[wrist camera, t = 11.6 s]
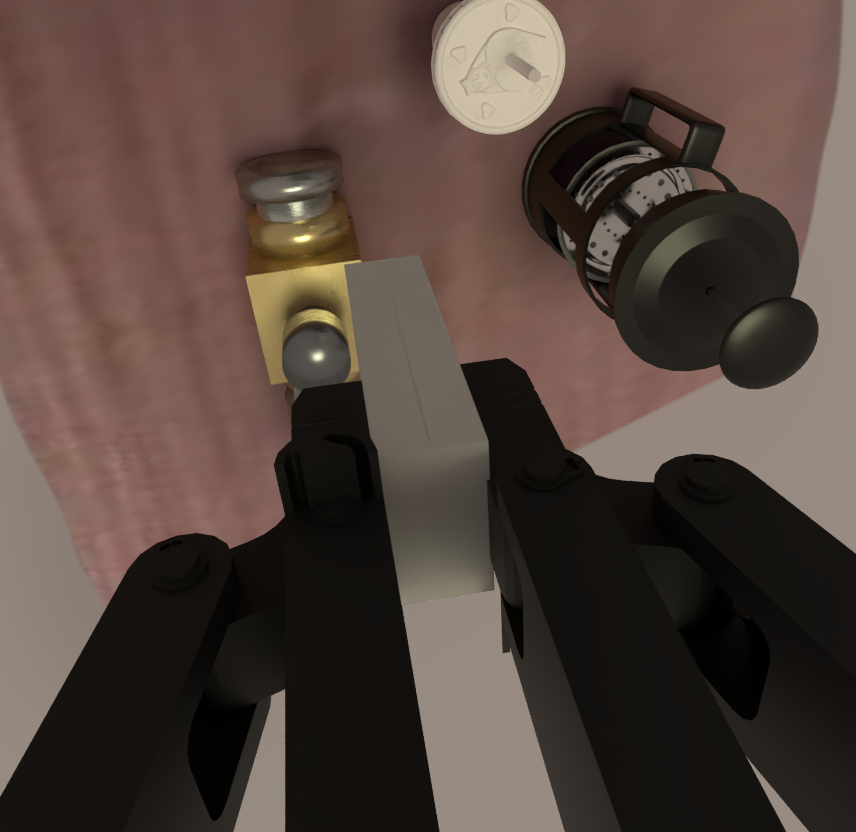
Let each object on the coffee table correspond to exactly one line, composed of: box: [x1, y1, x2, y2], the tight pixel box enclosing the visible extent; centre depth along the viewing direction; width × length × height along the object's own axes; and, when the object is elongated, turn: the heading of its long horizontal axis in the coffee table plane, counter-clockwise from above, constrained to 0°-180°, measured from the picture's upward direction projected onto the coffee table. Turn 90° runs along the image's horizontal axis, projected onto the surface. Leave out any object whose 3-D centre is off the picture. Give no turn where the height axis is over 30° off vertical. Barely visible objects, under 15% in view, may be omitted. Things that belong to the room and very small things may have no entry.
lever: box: [282, 309, 351, 402], centre depth 46 cm, size 13×4×3 cm, turn 177°
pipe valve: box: [235, 150, 361, 416], centre depth 48 cm, size 16×6×9 cm, turn 6°
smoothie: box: [431, 0, 565, 134], centre depth 40 cm, size 6×6×14 cm
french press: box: [522, 87, 818, 389], centre depth 41 cm, size 12×9×23 cm
